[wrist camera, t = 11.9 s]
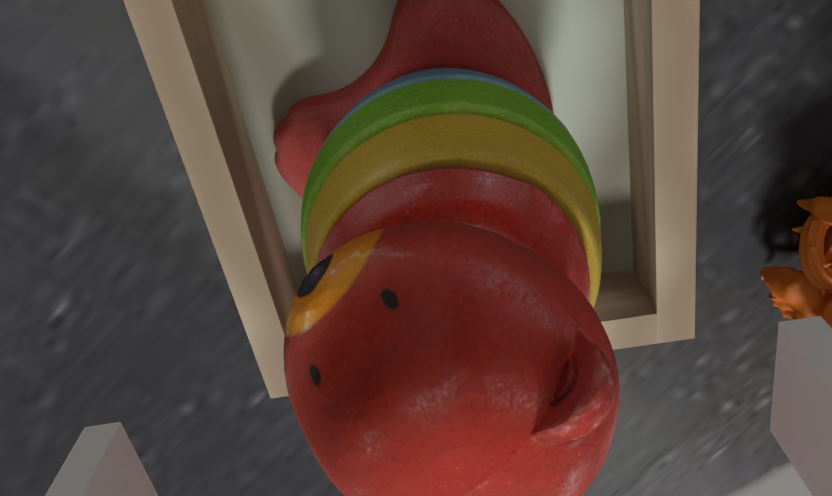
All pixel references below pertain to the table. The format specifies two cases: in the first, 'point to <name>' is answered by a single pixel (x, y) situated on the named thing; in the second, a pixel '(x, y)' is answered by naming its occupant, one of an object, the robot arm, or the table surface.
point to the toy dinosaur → (807, 268)
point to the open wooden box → (353, 54)
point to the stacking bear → (447, 270)
